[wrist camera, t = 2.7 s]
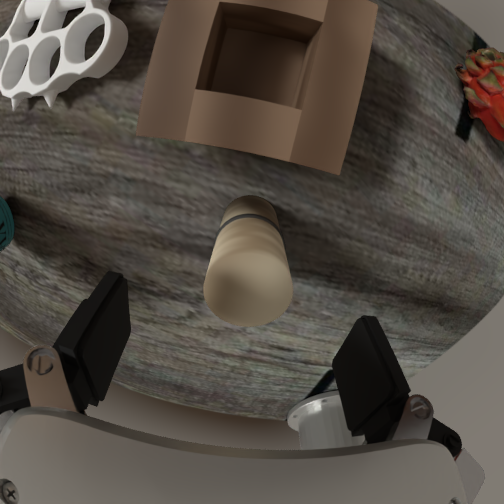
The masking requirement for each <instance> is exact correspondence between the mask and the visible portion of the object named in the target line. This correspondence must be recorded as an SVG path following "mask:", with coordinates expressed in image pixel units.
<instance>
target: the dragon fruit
mask: <svg viewBox="0 0 504 504" xmlns="http://www.w3.org/2000/svg"><path fill="white" fill-rule="evenodd" d="M466 53H467V54H466V60H465V65H466V67H467V69H466V70H462V69H460V68H463V67H462V66H463V65H462V64H459V63H458V64H457V65H456V68H455V71H456V74H457V76H458V77H459V78H460V79H461V81H462V82H463V85H464V92H465V95H466V96H465V98H466V99H467V100H468V101H469V103H468V106H469V109H470V113H471V115H470V114H469V112H468V114H469V116H470V117H471V118H472V119H477V118H480V119H481V120H482V122H483V123H484V125H485V127H486V129H487V131H488V132H489V133H490V134H491V135H492V136H493V137H494V138H496V139H497V140H499V141H503V142H504V53H503V52H498V51H497V50H496V49H494V48H486V49H479V50H477V52H475V51H473V50H468V51H467V52H466Z"/></svg>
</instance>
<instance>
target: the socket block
mask: <svg viewBox="0 0 504 504" xmlns="http://www.w3.org/2000/svg"><path fill="white" fill-rule="evenodd" d="M377 9H378V5H376V4H374V3H372V2H370V1H367V0H169V1H168V4H167V7H166V9H165V12H164V15H163V18H162V21H161V24H160V28H159V31H158V34H157V38H156V41H155V45H154V48H153V52H152V56H151V60H150V64H149V68H148V72H147V76H146V81H145V85H144V90H143V95H142V100H141V105H140V111H139V117H138V123H137V129H136V136H146V137H155V138H164V139H172V140H179V141H186V142H193V143H200V144H206V145H212V146H217V147H223V148H228V149H234V150H239V151H244V152H249V153H253V154H258V155H263V156H267V157H272V158H276V159H280V160H284V161H288V162H292V163H296V164H300V165H304V166H308V167H311V168H315V169H319V170H322V171H326V172H329V173H333V174H336V175H340V171H341V168H342V164H343V161H344V157H345V154H346V150H347V147H348V143H349V139H350V136H351V132H352V128H353V124H354V120H355V116H356V112H357V108H358V104H359V100H360V96H361V91H362V87H363V83H364V78H365V74H366V69H367V64H368V59H369V54H370V49H371V44H372V39H373V33H374V27H375V21H376V15H377Z"/></svg>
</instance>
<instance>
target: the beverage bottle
mask: <svg viewBox="0 0 504 504" xmlns="http://www.w3.org/2000/svg"><path fill="white" fill-rule="evenodd" d="M13 236H14V221H13V217H12V213H11V210H10V208H9V206H8V204H7V203H6V201H5V200H4V199H3V198H2V197H0V251H1V252H2V249H3V250H4V248H5V247H6V246H8V245H9V243H10V242H11V241H12V239H13Z"/></svg>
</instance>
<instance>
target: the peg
mask: <svg viewBox="0 0 504 504" xmlns="http://www.w3.org/2000/svg"><path fill="white" fill-rule="evenodd" d="M213 249H214V250H213V253H212V257H211V260H210V264H209V267H208V271H207V274H206V278H205V282H204V289H203V291H204V297H205V300H206V303H207V305H208V306H209V308H210V309H211V311H212V312H213V313H214V314H215V315H216V316H218V317H219V318H220V319H222V320H224V321H226V322H228V323H230V324H233V325H237V326H244V327H254V326H260V325H264V324H267V323H270V322H272V321H274V320H275V319H277V318H278V317H280V316H281V315H282V314H283V313H284V312H285V311H286V310H287V308H288V307H289V305H290V303H291V300H292V297H293V284H292V280H291V275H290V271H289V266H288V262H287V257H286V253H285V242H284V238H283V235H282V233H281V231H280V228H279V224H278V219H277V215H276V212H275V210H274V208H273V207H272V205H271V204H270V203H269V202H268V201H266V200H265V199H263V198H261V197H258V196H253V195H247V196H242V197H239V198H237V199H235V200H234V201H232V202H231V203H230V204H229V205H228V207H227V208H226V210H225V212H224V216H223V219H222V222H221V226H220V229H219V230H218V232H217V234H216V237H215V241H214V247H213Z"/></svg>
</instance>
